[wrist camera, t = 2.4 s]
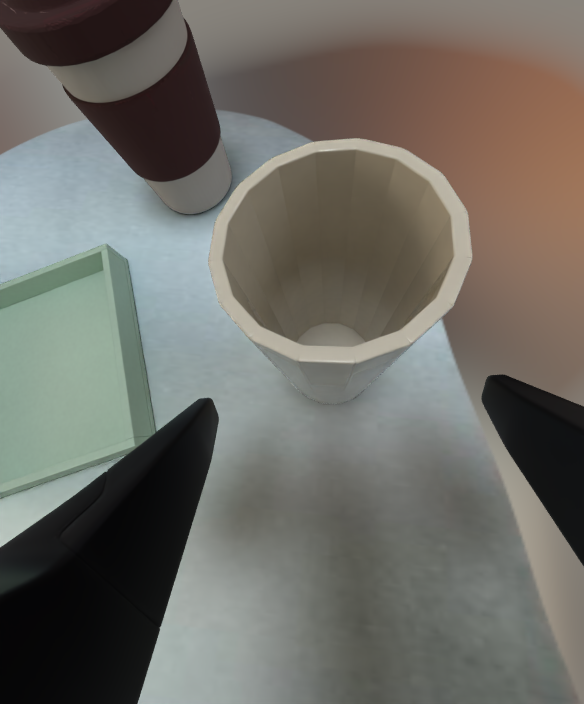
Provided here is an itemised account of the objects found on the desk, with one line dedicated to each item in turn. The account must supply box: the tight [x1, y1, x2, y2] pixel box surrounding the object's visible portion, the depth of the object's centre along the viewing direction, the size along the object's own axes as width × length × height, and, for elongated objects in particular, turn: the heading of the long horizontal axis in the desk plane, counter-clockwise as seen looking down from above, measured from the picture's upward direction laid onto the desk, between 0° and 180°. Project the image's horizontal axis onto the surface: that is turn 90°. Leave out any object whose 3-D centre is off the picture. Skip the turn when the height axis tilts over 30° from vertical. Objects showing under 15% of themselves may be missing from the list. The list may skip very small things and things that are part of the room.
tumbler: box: [208, 138, 472, 404], centre depth 13 cm, size 6×6×14 cm
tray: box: [0, 244, 156, 498], centre depth 22 cm, size 17×15×2 cm
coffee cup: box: [0, 0, 232, 214], centre depth 19 cm, size 10×10×15 cm
